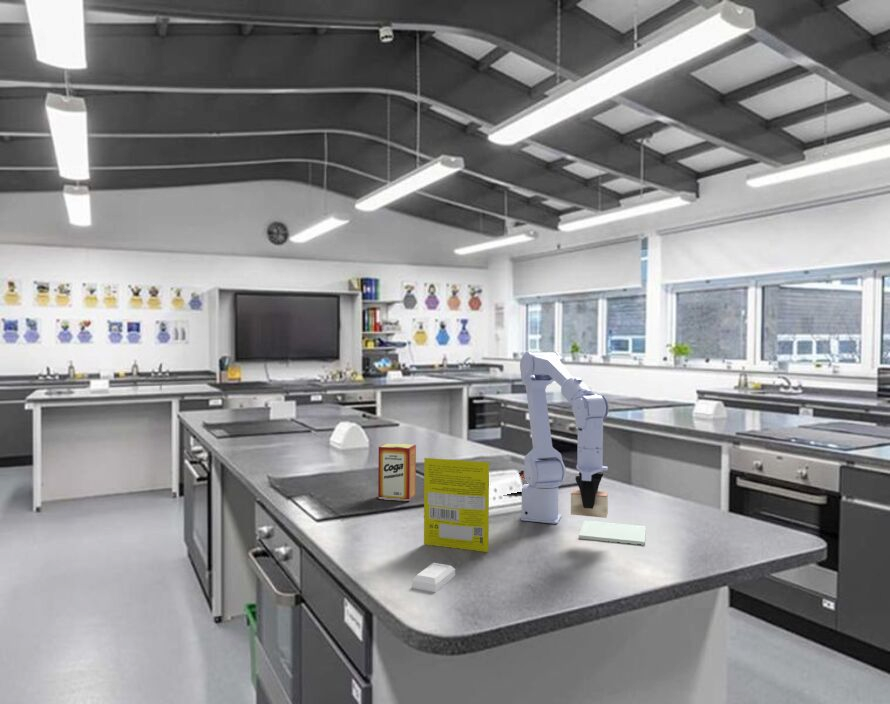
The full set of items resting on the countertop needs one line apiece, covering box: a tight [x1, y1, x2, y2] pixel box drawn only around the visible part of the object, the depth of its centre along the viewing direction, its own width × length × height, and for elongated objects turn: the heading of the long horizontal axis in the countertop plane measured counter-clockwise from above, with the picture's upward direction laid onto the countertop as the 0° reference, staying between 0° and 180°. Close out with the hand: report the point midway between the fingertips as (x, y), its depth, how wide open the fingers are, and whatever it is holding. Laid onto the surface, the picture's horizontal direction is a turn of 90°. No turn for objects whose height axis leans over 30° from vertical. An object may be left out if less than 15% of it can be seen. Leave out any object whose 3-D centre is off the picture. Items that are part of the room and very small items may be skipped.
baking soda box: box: [377, 443, 417, 499], centre depth 186 cm, size 10×6×16 cm
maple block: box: [570, 488, 609, 519], centre depth 145 cm, size 8×4×5 cm, turn 71°
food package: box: [423, 457, 490, 553], centre depth 141 cm, size 15×1×20 cm, turn 71°
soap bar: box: [411, 562, 456, 593], centre depth 121 cm, size 5×9×3 cm, turn 155°
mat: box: [578, 520, 647, 546], centre depth 152 cm, size 15×13×1 cm
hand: (589, 505), depth 145 cm, fingers closed on maple block, 4 cm apart
